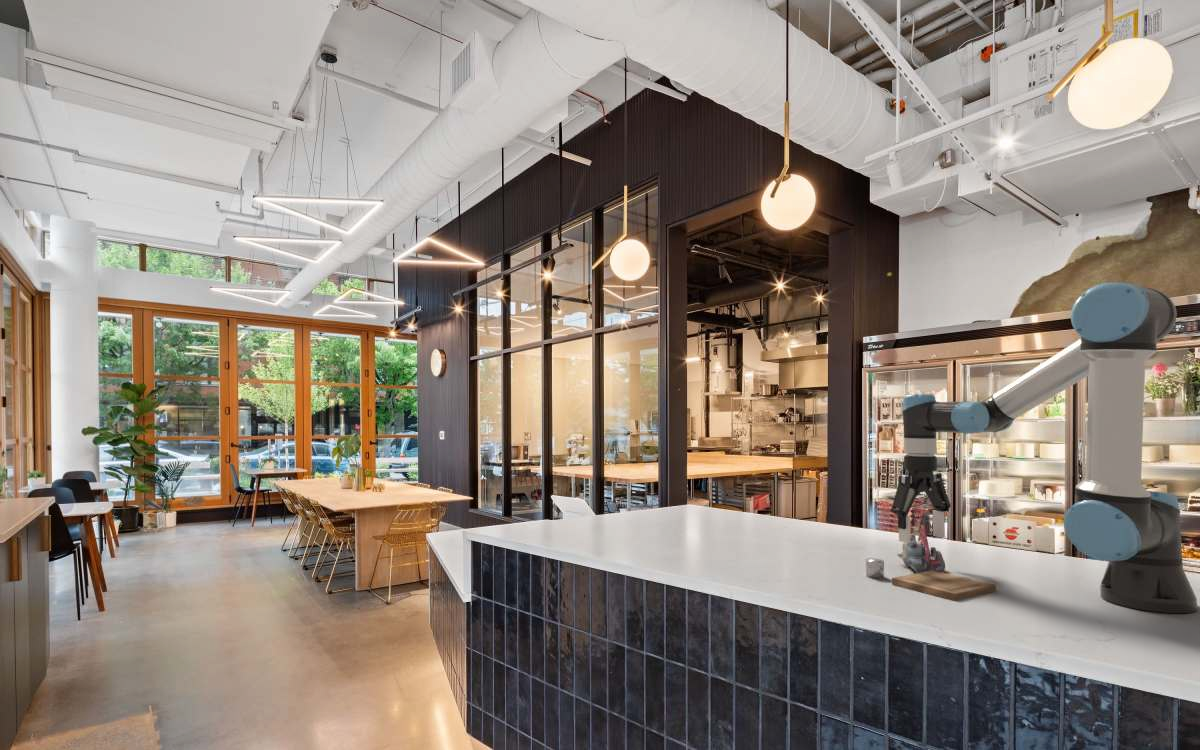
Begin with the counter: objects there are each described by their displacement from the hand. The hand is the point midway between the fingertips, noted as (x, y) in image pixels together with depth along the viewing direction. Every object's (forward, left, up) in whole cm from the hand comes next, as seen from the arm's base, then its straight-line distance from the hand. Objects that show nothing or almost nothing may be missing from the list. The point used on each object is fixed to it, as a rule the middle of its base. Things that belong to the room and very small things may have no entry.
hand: (922, 539), depth 160 cm
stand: (-12, +11, -8) cm, 18 cm away
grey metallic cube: (+2, +16, -8) cm, 18 cm away
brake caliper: (0, 0, -8) cm, 8 cm away
